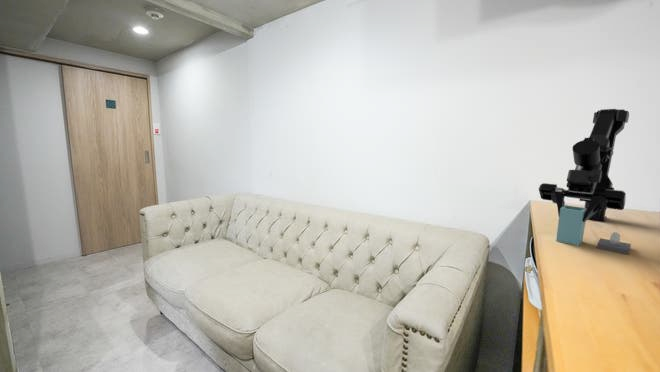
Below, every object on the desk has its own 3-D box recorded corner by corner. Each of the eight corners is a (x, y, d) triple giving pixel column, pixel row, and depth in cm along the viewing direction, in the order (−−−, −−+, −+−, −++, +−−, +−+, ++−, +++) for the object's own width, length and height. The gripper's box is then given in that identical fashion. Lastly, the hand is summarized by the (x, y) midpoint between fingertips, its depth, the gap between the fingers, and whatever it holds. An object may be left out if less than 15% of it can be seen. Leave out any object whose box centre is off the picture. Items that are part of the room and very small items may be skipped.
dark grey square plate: (599, 242, 80) (602, 227, 79) (630, 248, 75) (633, 232, 75) (596, 247, 76) (599, 232, 75) (628, 254, 72) (631, 238, 71)
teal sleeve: (560, 236, 85) (565, 205, 83) (582, 241, 81) (587, 208, 79) (556, 240, 82) (560, 208, 80) (578, 245, 78) (583, 211, 76)
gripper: (543, 157, 87) (527, 197, 82) (631, 161, 72) (617, 209, 67) (548, 179, 93) (534, 217, 88) (629, 186, 78) (617, 232, 74)
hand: (571, 219), depth 79 cm, fingers closed on teal sleeve, 5 cm apart
